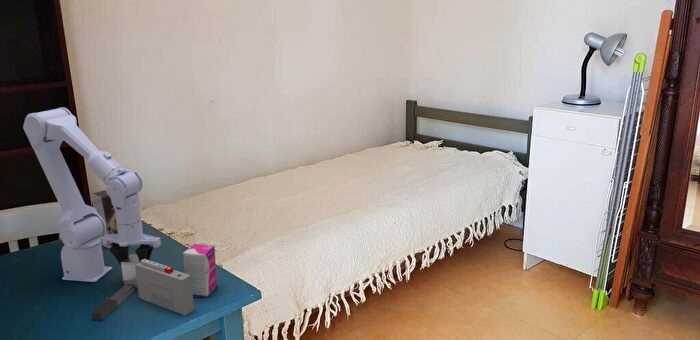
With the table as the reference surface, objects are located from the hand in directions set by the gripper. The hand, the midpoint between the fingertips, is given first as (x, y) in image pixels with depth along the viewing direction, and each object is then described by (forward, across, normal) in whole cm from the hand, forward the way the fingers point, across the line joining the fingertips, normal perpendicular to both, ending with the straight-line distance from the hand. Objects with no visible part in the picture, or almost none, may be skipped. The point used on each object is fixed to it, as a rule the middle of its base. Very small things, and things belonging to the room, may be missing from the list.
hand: (135, 270), depth 138 cm
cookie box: (+4, -20, +24) cm, 31 cm away
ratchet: (+4, 0, -7) cm, 8 cm away
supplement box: (+4, +18, -1) cm, 18 cm away
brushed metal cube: (+2, 0, 0) cm, 2 cm away
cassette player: (+4, +12, -8) cm, 15 cm away
